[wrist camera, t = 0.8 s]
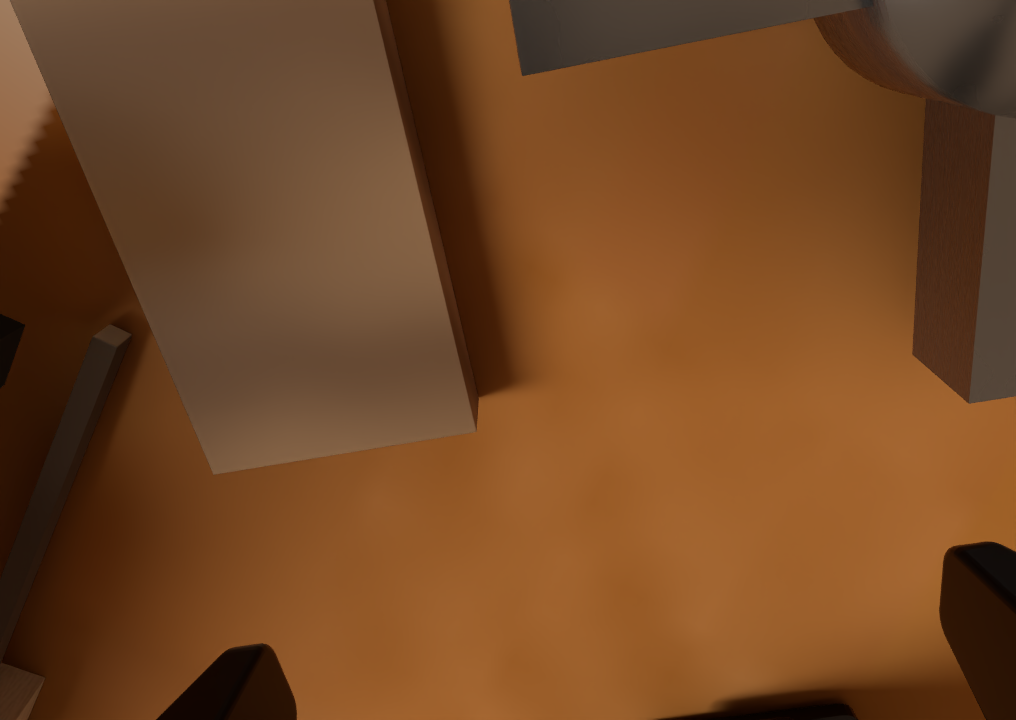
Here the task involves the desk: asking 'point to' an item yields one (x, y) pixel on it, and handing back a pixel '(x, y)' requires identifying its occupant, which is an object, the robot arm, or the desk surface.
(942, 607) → the robot arm
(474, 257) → the desk surface
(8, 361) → the toy soldier
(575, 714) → the desk surface
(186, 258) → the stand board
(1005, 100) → the capstan
